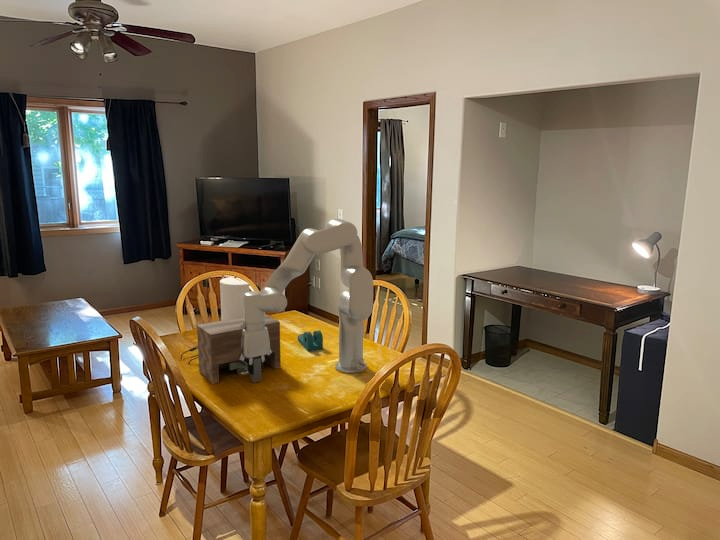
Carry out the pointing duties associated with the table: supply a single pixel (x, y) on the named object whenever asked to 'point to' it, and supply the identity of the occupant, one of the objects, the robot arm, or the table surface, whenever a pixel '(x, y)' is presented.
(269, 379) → the table surface
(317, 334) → the bracket
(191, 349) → the sunglasses
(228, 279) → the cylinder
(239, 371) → the token
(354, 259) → the robot arm
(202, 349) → the cabinet
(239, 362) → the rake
